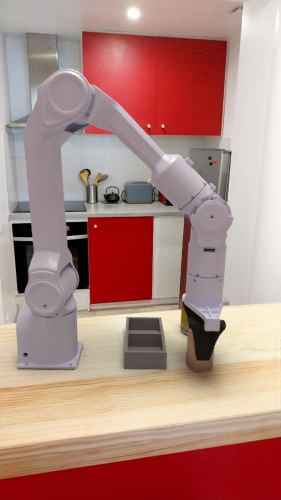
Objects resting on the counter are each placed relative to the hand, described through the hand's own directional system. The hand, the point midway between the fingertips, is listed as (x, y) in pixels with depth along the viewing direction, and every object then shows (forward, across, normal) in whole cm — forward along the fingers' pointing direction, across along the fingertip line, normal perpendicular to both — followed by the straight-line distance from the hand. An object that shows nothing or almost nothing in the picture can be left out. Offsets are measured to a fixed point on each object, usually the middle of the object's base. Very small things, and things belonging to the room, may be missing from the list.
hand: (200, 351), depth 59 cm
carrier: (+2, +5, +9) cm, 11 cm away
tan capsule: (+2, 0, 0) cm, 2 cm away
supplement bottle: (+3, +12, -1) cm, 12 cm away
